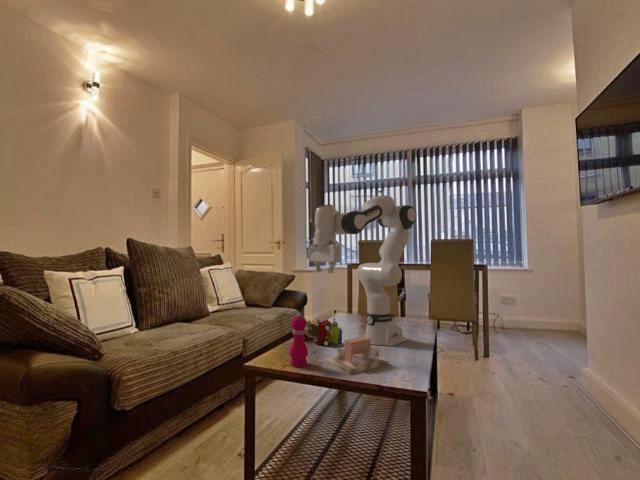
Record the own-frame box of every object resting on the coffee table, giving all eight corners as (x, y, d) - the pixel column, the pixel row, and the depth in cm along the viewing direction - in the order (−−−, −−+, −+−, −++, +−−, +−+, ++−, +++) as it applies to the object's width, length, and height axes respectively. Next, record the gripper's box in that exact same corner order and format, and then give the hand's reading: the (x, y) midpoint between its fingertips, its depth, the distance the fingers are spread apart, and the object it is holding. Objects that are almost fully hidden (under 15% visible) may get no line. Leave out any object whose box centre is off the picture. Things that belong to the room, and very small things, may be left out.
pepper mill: (305, 368, 124) (305, 314, 125) (287, 366, 125) (287, 314, 126) (309, 362, 131) (310, 311, 132) (292, 360, 132) (292, 310, 133)
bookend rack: (365, 355, 140) (365, 342, 140) (388, 364, 129) (388, 350, 129) (326, 363, 129) (326, 349, 130) (348, 374, 118) (348, 358, 118)
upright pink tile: (364, 356, 133) (364, 336, 134) (370, 359, 130) (370, 338, 130) (344, 360, 128) (344, 340, 128) (351, 363, 125) (351, 342, 125)
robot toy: (336, 350, 150) (299, 340, 159) (344, 345, 158) (309, 336, 167) (340, 313, 150) (302, 306, 159) (348, 310, 158) (312, 303, 167)
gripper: (344, 240, 137) (344, 273, 136) (318, 242, 154) (318, 271, 153) (332, 240, 133) (332, 274, 133) (306, 241, 151) (306, 271, 150)
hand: (324, 272), depth 143 cm, fingers open, 8 cm apart
